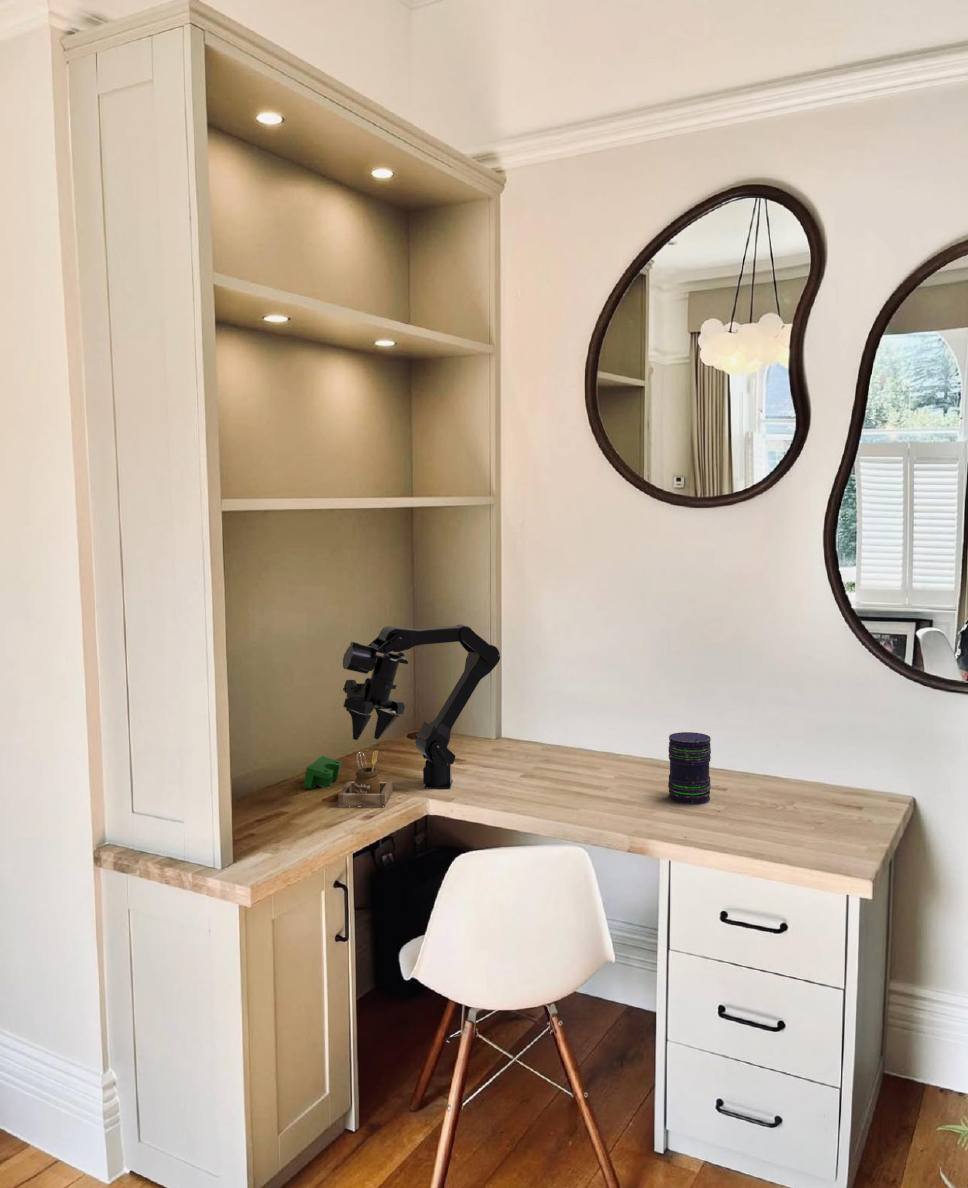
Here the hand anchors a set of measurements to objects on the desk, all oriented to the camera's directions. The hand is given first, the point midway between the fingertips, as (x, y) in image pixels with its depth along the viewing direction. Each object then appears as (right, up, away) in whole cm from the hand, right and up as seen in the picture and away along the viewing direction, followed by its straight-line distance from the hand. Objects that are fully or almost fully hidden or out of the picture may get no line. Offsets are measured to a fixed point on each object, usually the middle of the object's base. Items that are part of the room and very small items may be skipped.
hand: (365, 739), depth 243 cm
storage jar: (+78, -14, -5) cm, 79 cm away
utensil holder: (+1, -14, -4) cm, 14 cm away
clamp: (-12, -13, +11) cm, 21 cm away
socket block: (0, -15, -3) cm, 15 cm away
